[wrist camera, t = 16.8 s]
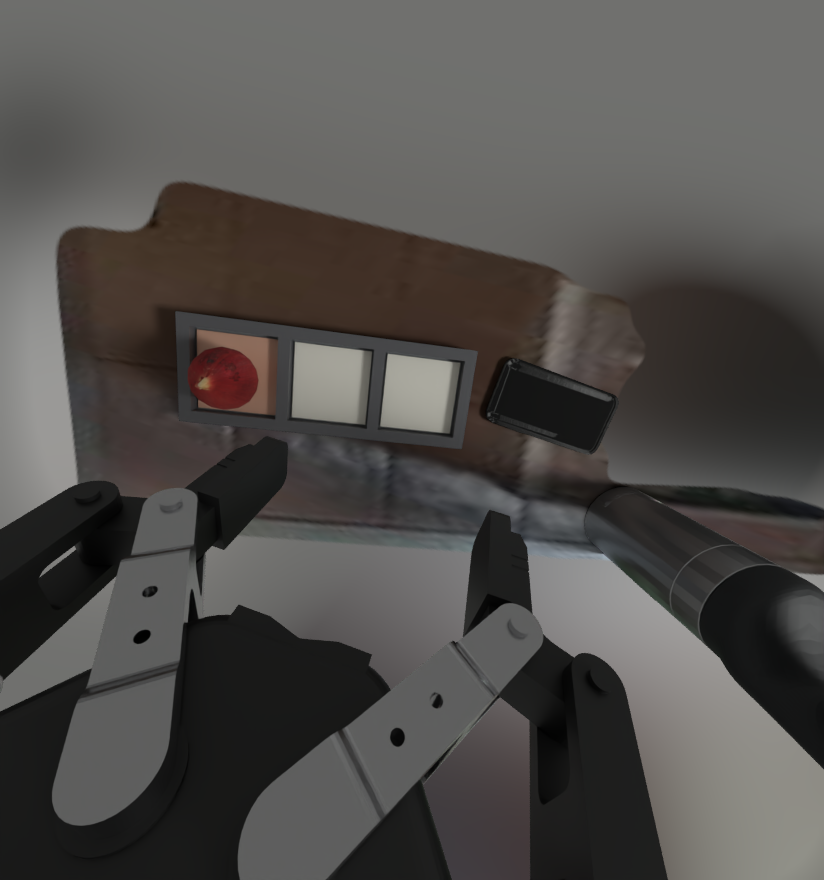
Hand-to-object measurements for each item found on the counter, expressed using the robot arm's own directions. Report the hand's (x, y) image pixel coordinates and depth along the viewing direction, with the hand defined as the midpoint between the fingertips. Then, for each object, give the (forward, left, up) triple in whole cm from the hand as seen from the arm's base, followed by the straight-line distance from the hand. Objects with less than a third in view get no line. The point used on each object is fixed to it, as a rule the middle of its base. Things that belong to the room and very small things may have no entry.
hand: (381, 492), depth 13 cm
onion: (+8, +13, -26) cm, 30 cm away
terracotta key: (+9, +13, -26) cm, 31 cm away
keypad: (+4, +4, -28) cm, 28 cm away
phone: (-9, -18, -28) cm, 35 cm away
